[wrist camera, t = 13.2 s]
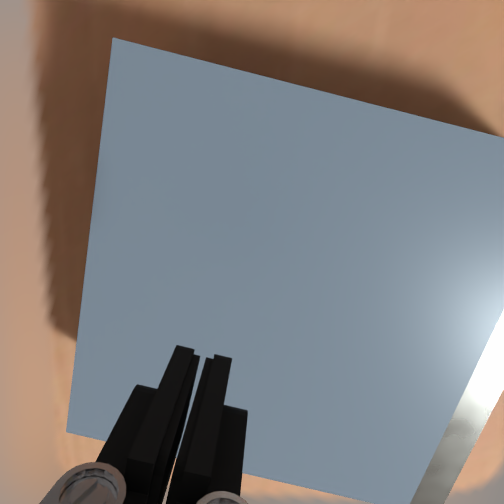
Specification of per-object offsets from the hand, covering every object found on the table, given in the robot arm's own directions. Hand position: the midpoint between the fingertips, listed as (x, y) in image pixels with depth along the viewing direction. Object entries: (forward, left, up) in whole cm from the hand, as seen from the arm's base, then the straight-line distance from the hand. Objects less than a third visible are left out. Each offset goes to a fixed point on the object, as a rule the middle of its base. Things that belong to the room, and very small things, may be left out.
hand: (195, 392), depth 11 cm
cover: (+1, +3, -15) cm, 16 cm away
